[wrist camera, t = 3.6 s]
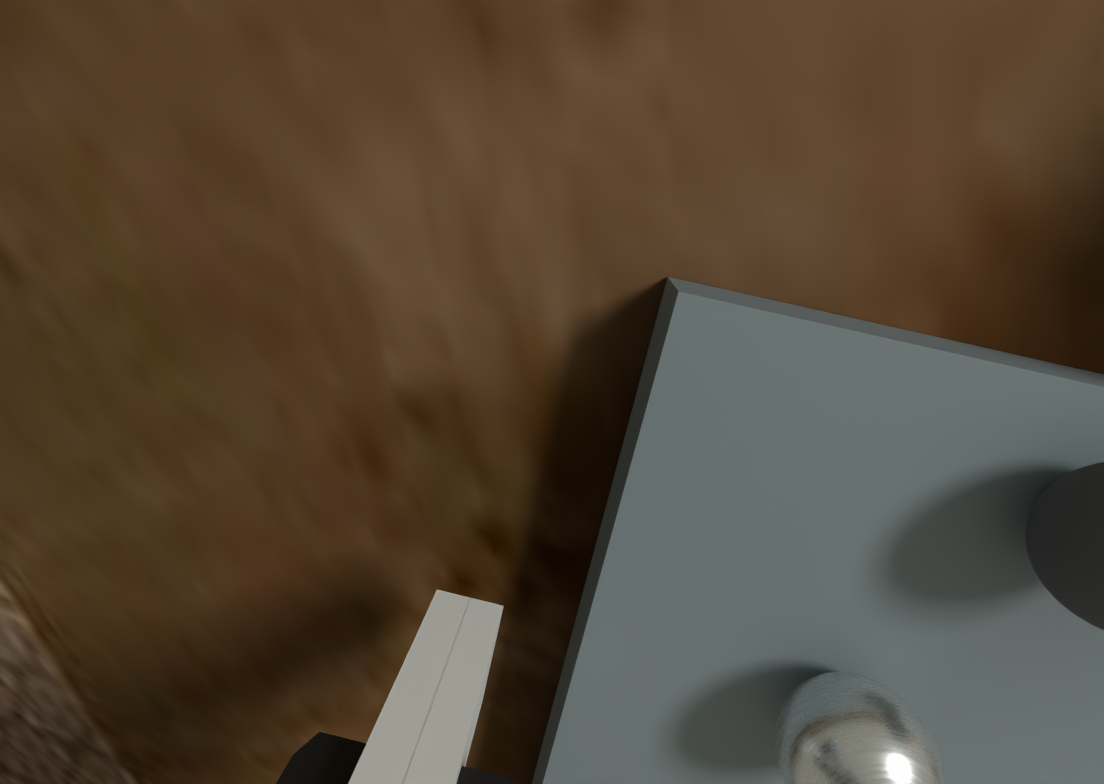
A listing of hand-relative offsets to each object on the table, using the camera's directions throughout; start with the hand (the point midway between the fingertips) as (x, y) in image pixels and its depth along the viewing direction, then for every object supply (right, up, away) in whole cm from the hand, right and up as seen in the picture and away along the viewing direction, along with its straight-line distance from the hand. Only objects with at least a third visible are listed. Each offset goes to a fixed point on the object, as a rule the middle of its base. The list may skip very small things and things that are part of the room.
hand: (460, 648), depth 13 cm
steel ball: (+8, -2, -1) cm, 9 cm away
